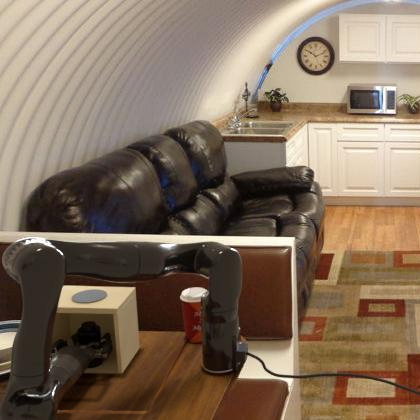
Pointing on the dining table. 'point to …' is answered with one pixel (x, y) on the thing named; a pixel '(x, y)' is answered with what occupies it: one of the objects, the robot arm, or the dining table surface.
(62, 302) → the cream hollow block
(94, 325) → the pepper mill
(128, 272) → the robot arm
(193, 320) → the paper cup
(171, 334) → the dining table surface
